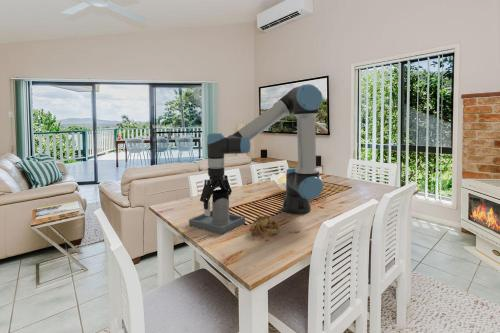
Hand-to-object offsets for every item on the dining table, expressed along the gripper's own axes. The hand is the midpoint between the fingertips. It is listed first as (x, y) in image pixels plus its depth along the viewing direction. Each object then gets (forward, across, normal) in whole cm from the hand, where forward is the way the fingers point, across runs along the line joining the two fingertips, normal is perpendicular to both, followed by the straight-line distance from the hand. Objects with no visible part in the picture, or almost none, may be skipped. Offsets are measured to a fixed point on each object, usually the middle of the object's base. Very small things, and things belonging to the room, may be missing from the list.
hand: (217, 211), depth 140 cm
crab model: (+7, -5, +23) cm, 25 cm away
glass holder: (+5, -3, -1) cm, 6 cm away
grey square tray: (+6, 0, 0) cm, 6 cm away
